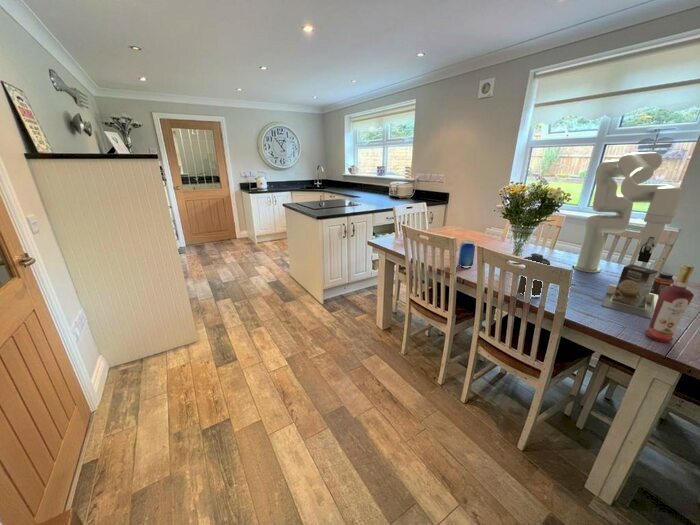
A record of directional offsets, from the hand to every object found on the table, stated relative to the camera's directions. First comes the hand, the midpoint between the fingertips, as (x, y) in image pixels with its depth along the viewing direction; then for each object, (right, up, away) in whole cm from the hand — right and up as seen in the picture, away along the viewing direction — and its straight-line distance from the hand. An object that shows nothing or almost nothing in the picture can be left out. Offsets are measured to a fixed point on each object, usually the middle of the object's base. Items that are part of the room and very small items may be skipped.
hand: (643, 258), depth 116 cm
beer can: (-53, -5, +54) cm, 76 cm away
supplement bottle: (+20, -18, +12) cm, 29 cm away
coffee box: (+1, -19, +7) cm, 21 cm away
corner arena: (-1, -21, +5) cm, 21 cm away
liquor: (-13, -29, -17) cm, 36 cm away
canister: (-36, -17, +19) cm, 44 cm away
